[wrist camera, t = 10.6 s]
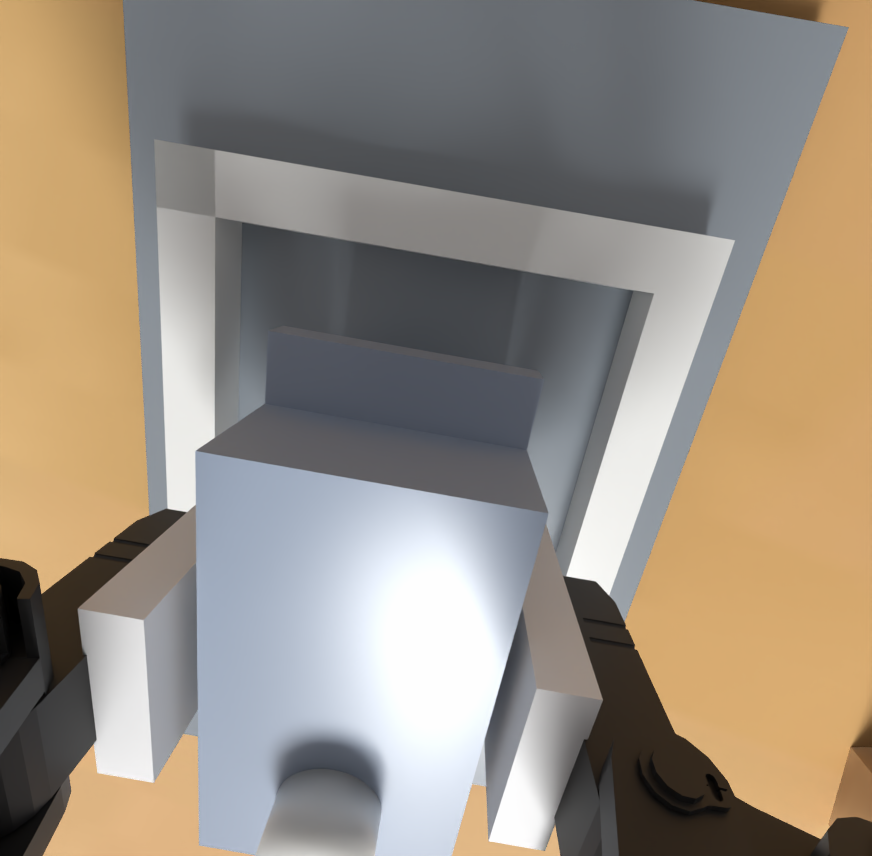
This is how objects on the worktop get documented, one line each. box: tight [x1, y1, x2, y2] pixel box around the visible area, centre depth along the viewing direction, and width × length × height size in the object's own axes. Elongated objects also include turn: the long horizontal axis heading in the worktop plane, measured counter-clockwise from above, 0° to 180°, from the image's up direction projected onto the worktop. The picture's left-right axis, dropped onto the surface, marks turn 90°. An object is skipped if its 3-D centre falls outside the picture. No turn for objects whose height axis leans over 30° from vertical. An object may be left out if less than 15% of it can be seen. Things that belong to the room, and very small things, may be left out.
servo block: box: [195, 326, 549, 856], centre depth 9 cm, size 9×4×7 cm, turn 171°
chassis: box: [123, 0, 849, 786], centre depth 12 cm, size 22×14×2 cm, turn 171°
